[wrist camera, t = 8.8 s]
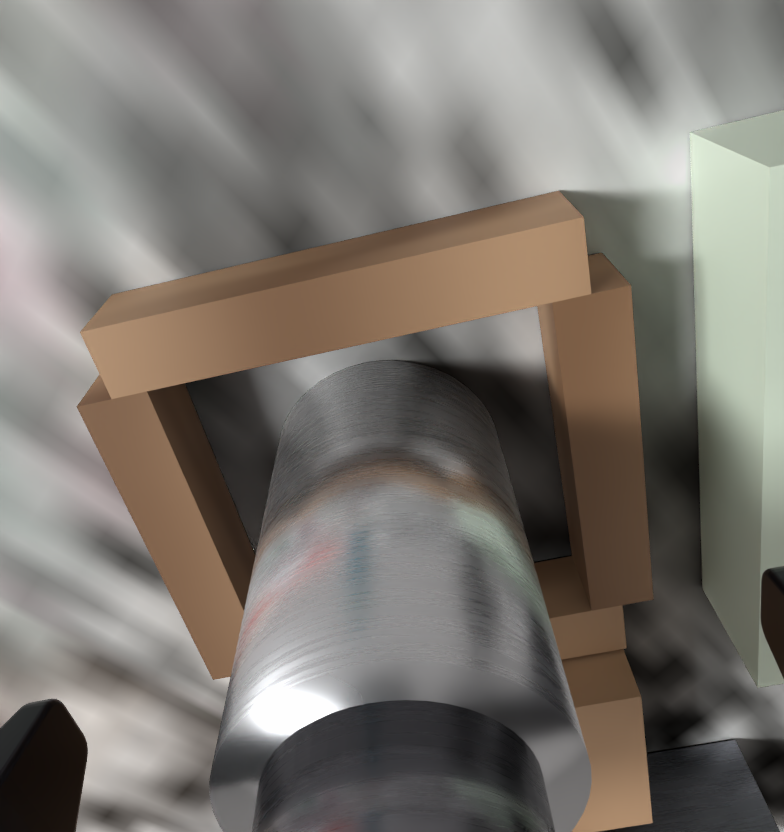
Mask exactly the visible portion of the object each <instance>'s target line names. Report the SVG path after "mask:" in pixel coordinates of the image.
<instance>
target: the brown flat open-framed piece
mask: <svg viewBox="0 0 784 832" xmlns="http://www.w3.org/2000/svg"><path fill="white" fill-rule="evenodd" d="M534 306H537V307H538V314H539V321H540V328H541V335H542V343H543V350H544V357H545V364H546V371H547V379H548V386H549V393H550V400H551V407H552V415H553V422H554V429H555V436H556V444H557V451H558V458H559V465H560V472H561V480H562V487H563V494H564V501H565V508H566V516H567V523H568V530H569V537H570V544H571V552H572V556H569V557H564V558H558V559H553V560H548V561H542V562H537V563H534V566H535V569H536V573H537V576H538V580H539V583H540V587H541V590H542V594H543V597H544V601H545V604H546V608H547V612H548V615H549V619H550V622H551V626H552V629H553V633H554V636H555V640H556V643H557V647H558V650H559V654H560V657H561V661H562V664H563V668H564V672H565V675H566V679H567V682H568V686H569V689H570V693H571V696H572V700H573V703H574V707H575V710H576V714H577V717H578V721H579V725H580V728H581V732H582V735H583V739H584V742H585V746H586V749H587V753H588V757H589V761H590V764H591V777H592V783H591V790H590V796H589V799H588V802H587V805H586V807H585V810H584V813H583V814H582V816H581V818H580V819H579V821H578V823H577V824H576V826H575V828H574V829H573V830H572V831H571V832H598V831H605V830H611V829H618V828H624V827H631V826H637V825H643V824H650V823H653V820H652V809H651V798H650V787H649V776H648V765H647V754H646V743H645V732H644V721H643V710H642V698H641V694H640V692H639V689H638V686H637V684H636V681H635V679H634V676H633V673H632V671H631V668H630V666H629V663H628V660H627V658H626V655H625V653H624V650H623V649H625V648H627V646H626V635H625V625H624V615H623V605H627V604H632V603H638V602H643V601H649V600H654V599H653V585H652V571H651V557H650V543H649V529H648V515H647V502H646V488H645V474H644V460H643V446H642V432H641V418H640V404H639V390H638V376H637V362H636V348H635V334H634V320H633V306H632V292H631V285H630V284H629V282H628V281H627V280H626V279H625V278H624V277H623V276H622V275H621V273H620V272H619V271H618V270H617V269H616V268H615V267H614V265H613V264H612V263H611V262H610V261H609V260H608V259H607V258H606V256H605V255H604V254H603V253H597V254H593V255H589V256H588V255H587V245H586V234H585V224H584V217H583V216H582V215H581V214H580V213H579V211H578V210H577V209H576V208H575V207H574V206H573V205H572V204H571V203H570V202H569V201H568V200H567V199H566V198H565V197H564V196H563V194H562V193H561V192H560V191H556V192H551V193H547V194H543V195H539V196H534V197H530V198H526V199H521V200H517V201H513V202H508V203H504V204H500V205H496V206H491V207H487V208H483V209H478V210H474V211H470V212H465V213H461V214H457V215H452V216H448V217H444V218H440V219H435V220H431V221H427V222H422V223H418V224H414V225H409V226H405V227H401V228H397V229H392V230H388V231H384V232H379V233H375V234H371V235H366V236H362V237H358V238H354V239H349V240H345V241H341V242H336V243H332V244H328V245H323V246H319V247H315V248H310V249H306V250H302V251H298V252H293V253H289V254H285V255H280V256H276V257H272V258H267V259H263V260H259V261H255V262H250V263H246V264H242V265H237V266H233V267H229V268H224V269H220V270H216V271H212V272H207V273H203V274H199V275H194V276H190V277H186V278H181V279H177V280H173V281H168V282H164V283H160V284H156V285H151V286H147V287H143V288H138V289H134V290H130V291H125V292H121V293H117V294H113V295H111V296H110V298H109V299H108V300H107V301H106V302H105V303H104V305H103V306H102V307H101V308H100V309H99V311H98V312H97V313H96V314H95V315H94V316H93V318H92V319H91V320H90V321H89V322H88V323H87V325H86V326H85V327H84V328H83V329H82V330H81V332H80V333H81V335H82V337H83V340H84V342H85V344H86V346H87V348H88V350H89V352H90V354H91V357H92V359H93V361H94V363H95V365H96V367H97V369H98V371H99V374H100V375H99V376H98V377H97V379H96V380H95V382H94V383H93V384H92V386H91V387H90V389H89V390H88V392H87V393H86V394H85V396H84V397H83V399H82V400H81V401H80V403H79V404H78V406H77V408H78V410H79V412H80V414H81V416H82V418H83V420H84V422H85V424H86V426H87V428H88V430H89V432H90V434H91V436H92V438H93V440H94V442H95V444H96V446H97V448H98V450H99V452H100V454H101V456H102V458H103V460H104V462H105V464H106V466H107V468H108V470H109V472H110V474H111V476H112V478H113V480H114V482H115V484H116V486H117V488H118V490H119V492H120V494H121V496H122V498H123V500H124V502H125V504H126V506H127V508H128V510H129V512H130V514H131V516H132V518H133V520H134V522H135V524H136V526H137V528H138V530H139V532H140V534H141V536H142V538H143V540H144V542H145V544H146V546H147V548H148V550H149V552H150V554H151V556H152V558H153V560H154V562H155V564H156V566H157V568H158V570H159V572H160V574H161V576H162V578H163V580H164V582H165V584H166V586H167V588H168V590H169V592H170V594H171V596H172V598H173V600H174V602H175V604H176V606H177V608H178V610H179V612H180V614H181V616H182V618H183V620H184V622H185V624H186V626H187V628H188V630H189V632H190V634H191V636H192V638H193V640H194V642H195V644H196V646H197V648H198V650H199V652H200V654H201V656H202V658H203V660H204V662H205V664H206V666H207V668H208V670H209V672H210V674H211V676H212V678H213V680H214V679H220V678H225V677H231V672H232V668H233V663H234V658H235V653H236V648H237V643H238V638H239V634H240V629H241V624H242V619H243V614H244V609H245V604H246V600H247V595H248V590H249V585H250V580H251V575H252V570H253V565H254V561H255V554H254V551H253V549H252V546H251V544H250V541H249V539H248V537H247V534H246V532H245V529H244V527H243V524H242V522H241V520H240V517H239V515H238V512H237V510H236V507H235V505H234V502H233V500H232V498H231V495H230V493H229V490H228V488H227V485H226V483H225V481H224V478H223V476H222V473H221V471H220V468H219V466H218V464H217V461H216V459H215V456H214V454H213V451H212V449H211V446H210V444H209V442H208V439H207V437H206V434H205V432H204V429H203V427H202V425H201V422H200V420H199V417H198V415H197V412H196V410H195V408H194V405H193V403H192V400H191V398H190V395H189V393H188V390H187V388H186V386H185V383H188V382H192V381H197V380H201V379H206V378H211V377H215V376H220V375H224V374H229V373H233V372H238V371H242V370H247V369H252V368H256V367H261V366H265V365H270V364H274V363H279V362H283V361H288V360H293V359H297V358H302V357H306V356H311V355H315V354H320V353H325V352H329V351H334V350H338V349H343V348H347V347H352V346H356V345H361V344H366V343H370V342H375V341H379V340H384V339H388V338H393V337H398V336H402V335H407V334H411V333H416V332H420V331H425V330H429V329H434V328H439V327H443V326H448V325H452V324H457V323H461V322H466V321H470V320H475V319H480V318H484V317H489V316H493V315H498V314H502V313H507V312H512V311H516V310H521V309H525V308H530V307H534Z"/></svg>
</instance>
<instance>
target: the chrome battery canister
mask: <svg viewBox="0 0 784 832" xmlns="http://www.w3.org/2000/svg"><path fill="white" fill-rule="evenodd" d="M591 783H592V777H591V764H590V761H589V757H588V753H587V749H586V746H585V742H584V739H583V735H582V732H581V728H580V725H579V721H578V717H577V714H576V710H575V707H574V703H573V700H572V696H571V693H570V689H569V686H568V682H567V679H566V675H565V672H564V668H563V664H562V661H561V657H560V654H559V650H558V647H557V643H556V640H555V636H554V633H553V629H552V626H551V622H550V619H549V615H548V612H547V608H546V604H545V601H544V597H543V594H542V590H541V587H540V583H539V580H538V576H537V573H536V569H535V566H534V562H533V559H532V555H531V552H530V548H529V544H528V541H527V537H526V534H525V530H524V527H523V523H522V520H521V516H520V513H519V509H518V506H517V502H516V499H515V495H514V492H513V488H512V484H511V481H510V477H509V474H508V470H507V467H506V463H505V460H504V456H503V453H502V449H501V446H500V442H499V439H498V435H497V432H496V428H495V425H494V423H493V421H492V418H491V416H490V414H489V412H488V411H487V409H486V408H485V406H484V405H483V403H482V402H481V401H480V400H479V399H478V397H477V396H476V395H475V394H474V393H473V392H472V391H471V390H470V389H468V388H467V387H466V386H465V385H464V384H463V383H461V382H460V381H458V380H456V379H455V378H453V377H452V376H450V375H448V374H446V373H444V372H442V371H440V370H437V369H434V368H432V367H429V366H426V365H422V364H417V363H412V362H405V361H375V362H368V363H362V364H358V365H355V366H351V367H348V368H345V369H343V370H340V371H338V372H336V373H333V374H332V375H330V376H328V377H326V378H325V379H323V380H321V381H320V382H318V383H317V384H316V385H314V386H313V387H312V388H311V389H309V390H308V391H307V392H306V393H305V394H304V395H303V396H302V397H301V398H300V399H299V401H298V402H297V403H296V405H295V406H294V407H293V409H292V410H291V412H290V413H289V415H288V417H287V419H286V421H285V423H284V426H283V429H282V431H281V434H280V439H279V444H278V449H277V454H276V458H275V463H274V468H273V473H272V478H271V483H270V488H269V493H268V497H267V502H266V507H265V512H264V517H263V522H262V527H261V531H260V536H259V541H258V546H257V551H256V556H255V561H254V565H253V570H252V575H251V580H250V585H249V590H248V595H247V600H246V604H245V609H244V614H243V619H242V624H241V629H240V634H239V638H238V643H237V648H236V653H235V658H234V663H233V668H232V672H231V677H230V682H229V687H228V692H227V697H226V702H225V706H224V711H223V716H222V721H221V726H220V731H219V736H218V741H217V745H216V750H215V755H214V760H213V765H212V770H211V775H210V781H209V785H210V800H211V804H212V808H213V812H214V815H215V817H216V819H217V821H218V823H219V825H220V827H221V829H222V830H223V832H571V831H572V830H573V829H574V828H575V826H576V824H577V823H578V821H579V819H580V818H581V816H582V814H583V813H584V810H585V807H586V805H587V802H588V799H589V796H590V790H591Z"/></svg>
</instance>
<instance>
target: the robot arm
mask: <svg viewBox="0 0 784 832" xmlns="http://www.w3.org/2000/svg"><path fill="white" fill-rule="evenodd" d="M760 618H761V626H762V630H763V633H764V636H765V638H766V641H767V643H768V645H769V647H770V650H771V652H772V654H773V656H774V658H775V661H776V663H777V665H778V667H779V670H780V672H781V674H782V676H783V679H784V566H780V567H774V568H769V569H767V570H765V571H764V572H763V574H762V579H761V613H760ZM87 754H88V748H87V742H86V739H85V736H84V734H83V733H82V731H81V730H80V728H79V727H78V725H77V724H76V722H75V721H74V719H73V718H72V716H71V715H70V713H69V712H68V710H67V709H66V707H65V706H64V704H63V703H62V702H61V701H59V700H57V699H48V700H42V701H37V702H31V703H28V704H26V705H24V706H23V707H21V708H20V709H19V710H18V711H17V712H16V713H15V714H14V715H13V716H12V717H11V718H10V719H9V720H8V721H7V722H6V723H5V724H4V725H3V726H2V727H1V728H0V832H75V831H76V825H77V819H78V812H79V806H80V800H81V794H82V787H83V781H84V775H85V769H86V762H87Z"/></svg>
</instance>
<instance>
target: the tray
mask: <svg viewBox="0 0 784 832" xmlns="http://www.w3.org/2000/svg"><path fill="white" fill-rule="evenodd" d="M690 155H691V191H692V227H693V264H694V300H695V336H696V372H697V408H698V445H699V481H700V517H701V553H702V589H703V590H704V592H705V594H706V596H707V598H708V599H709V601H710V603H711V605H712V607H713V608H714V610H715V612H716V614H717V616H718V617H719V619H720V621H721V623H722V625H723V626H724V628H725V630H726V632H727V634H728V635H729V637H730V639H731V641H732V643H733V644H734V646H735V648H736V650H737V652H738V653H739V655H740V657H741V659H742V661H743V662H744V664H745V666H746V668H747V670H748V671H749V673H750V675H751V677H752V679H753V680H754V682H755V684H756V686H757V688H761V687H767V686H773V685H779V684H784V679H783V676H782V674H781V672H780V670H779V667H778V665H777V663H776V661H775V658H774V656H773V654H772V652H771V650H770V647H769V645H768V643H767V641H766V638H765V636H764V633H763V630H762V626H761V618H760V613H761V579H762V574H763V572H764V571H765V570H767V569H769V568H774V567H780V566H784V110H782V111H778V112H773V113H769V114H765V115H761V116H757V117H752V118H748V119H744V120H740V121H735V122H731V123H727V124H723V125H718V126H714V127H710V128H706V129H701V130H697V131H693V132H690Z"/></svg>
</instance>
